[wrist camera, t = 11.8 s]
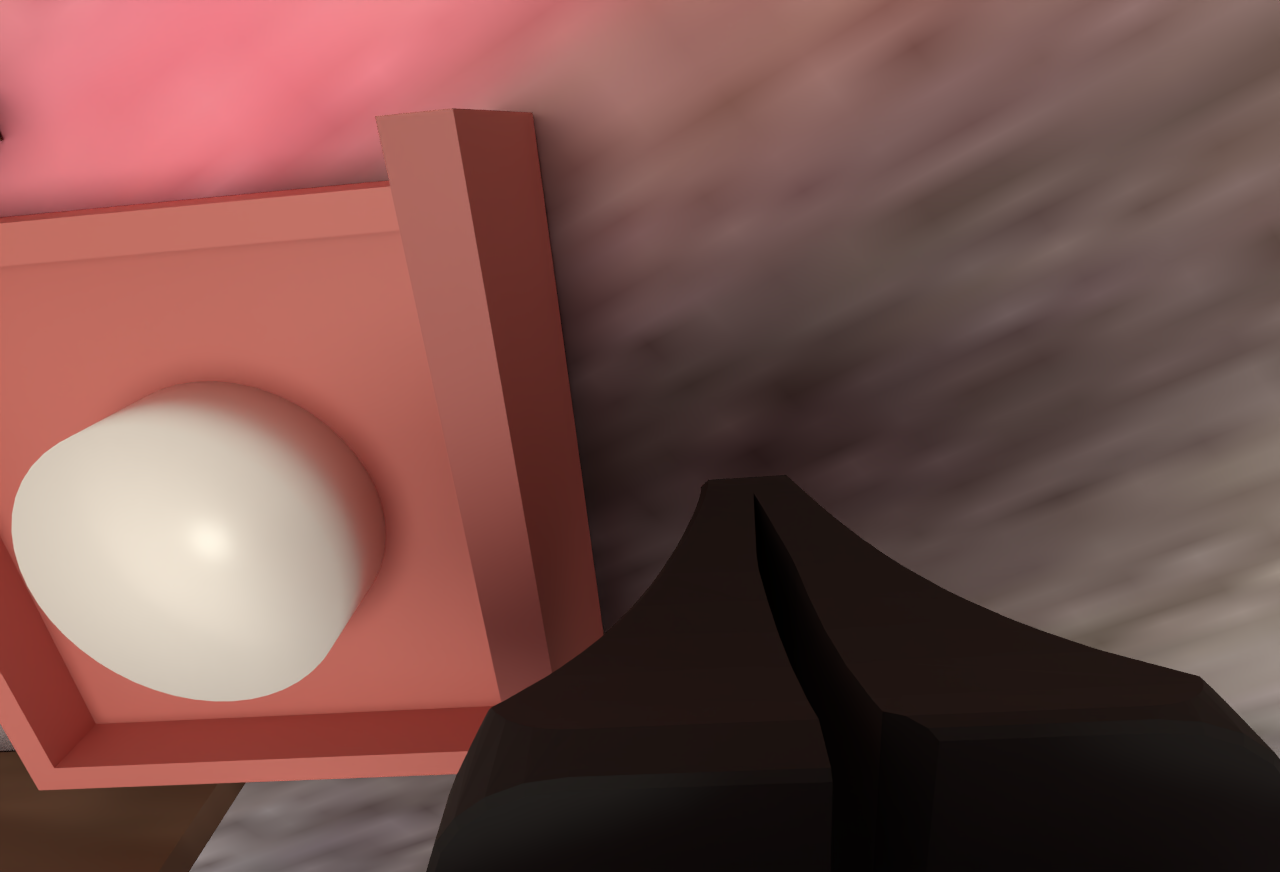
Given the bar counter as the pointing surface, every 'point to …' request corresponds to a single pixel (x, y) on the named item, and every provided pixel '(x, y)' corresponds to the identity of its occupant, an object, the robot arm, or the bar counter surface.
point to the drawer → (356, 411)
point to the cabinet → (105, 824)
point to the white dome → (201, 540)
